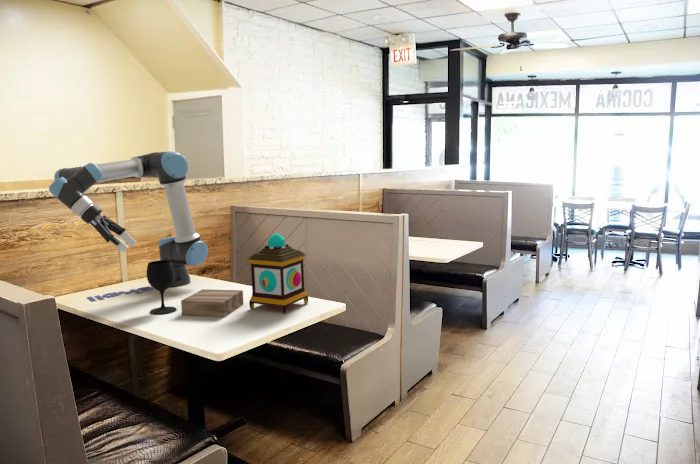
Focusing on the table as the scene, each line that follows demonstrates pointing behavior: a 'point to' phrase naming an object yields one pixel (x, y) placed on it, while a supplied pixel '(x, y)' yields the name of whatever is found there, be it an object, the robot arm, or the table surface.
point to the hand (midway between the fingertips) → (130, 247)
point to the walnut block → (212, 303)
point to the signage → (119, 293)
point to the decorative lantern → (277, 275)
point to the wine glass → (161, 282)
